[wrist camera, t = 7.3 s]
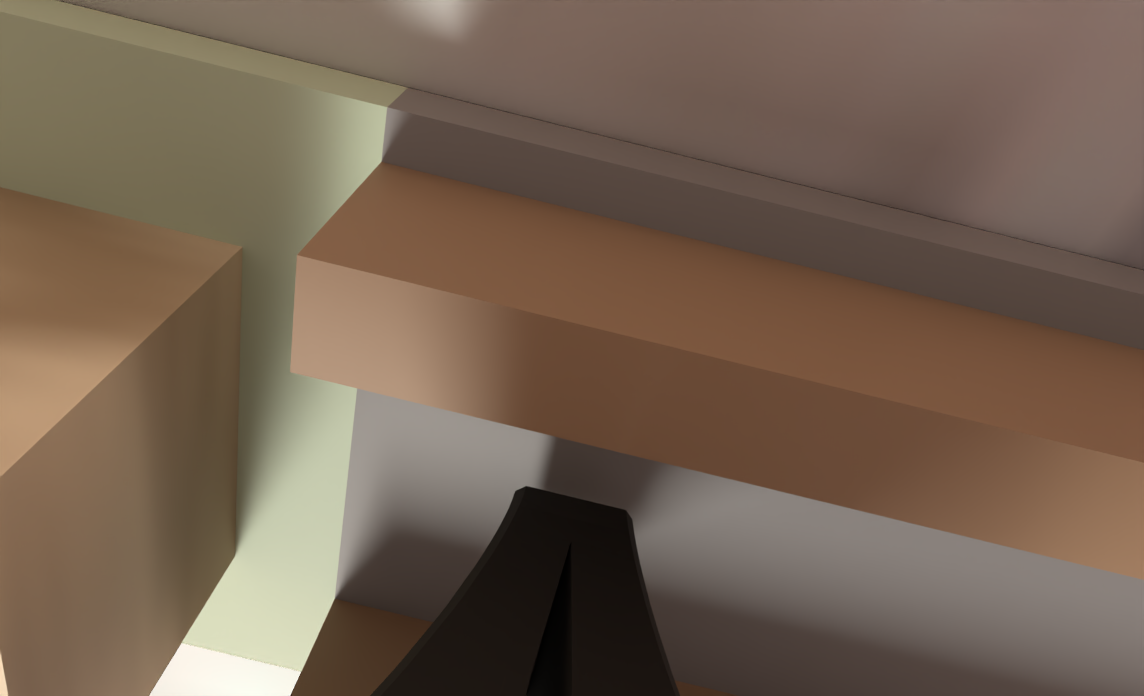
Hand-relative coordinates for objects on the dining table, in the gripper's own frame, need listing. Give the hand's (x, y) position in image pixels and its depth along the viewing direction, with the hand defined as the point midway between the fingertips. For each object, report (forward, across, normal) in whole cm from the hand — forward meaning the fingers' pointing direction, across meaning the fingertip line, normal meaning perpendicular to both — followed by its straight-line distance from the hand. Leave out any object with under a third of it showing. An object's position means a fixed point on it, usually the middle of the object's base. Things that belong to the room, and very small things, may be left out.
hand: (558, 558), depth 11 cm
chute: (+2, 0, 0) cm, 2 cm away
